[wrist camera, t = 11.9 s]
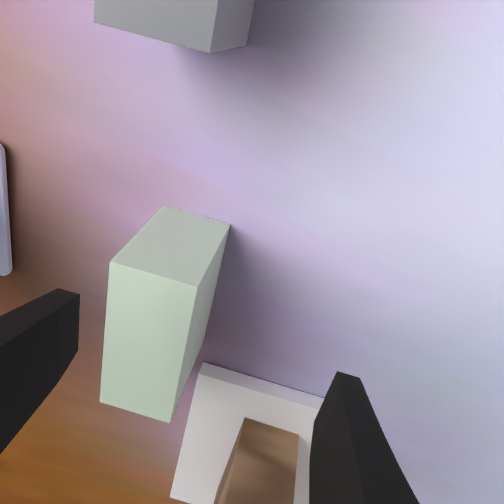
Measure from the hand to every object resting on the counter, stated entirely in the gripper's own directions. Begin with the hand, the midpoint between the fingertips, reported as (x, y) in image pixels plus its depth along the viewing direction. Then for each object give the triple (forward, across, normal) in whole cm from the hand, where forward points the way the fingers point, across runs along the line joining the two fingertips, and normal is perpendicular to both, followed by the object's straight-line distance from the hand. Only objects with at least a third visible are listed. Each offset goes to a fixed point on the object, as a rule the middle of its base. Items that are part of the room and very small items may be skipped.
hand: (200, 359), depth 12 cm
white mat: (+10, -4, +17) cm, 20 cm away
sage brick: (+10, +3, +5) cm, 12 cm away
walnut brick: (+9, -4, +17) cm, 20 cm away
